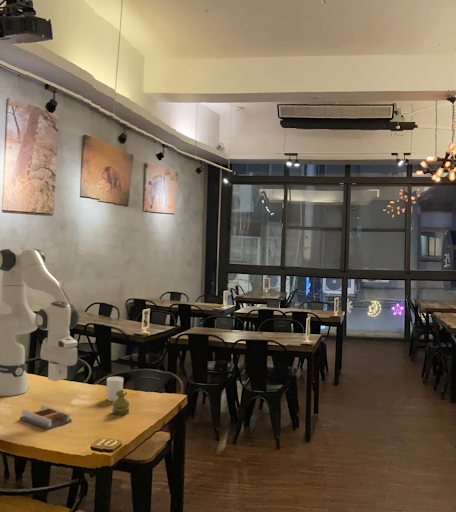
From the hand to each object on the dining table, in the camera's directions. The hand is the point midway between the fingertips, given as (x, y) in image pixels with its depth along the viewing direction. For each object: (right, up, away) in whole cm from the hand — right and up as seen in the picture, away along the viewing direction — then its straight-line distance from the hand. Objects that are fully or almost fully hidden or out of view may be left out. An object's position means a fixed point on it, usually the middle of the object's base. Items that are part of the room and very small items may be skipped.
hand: (57, 372), depth 206 cm
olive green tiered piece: (+25, -20, +9) cm, 33 cm away
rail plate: (-4, -19, -4) cm, 20 cm away
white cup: (+18, -20, +28) cm, 38 cm away
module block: (0, -3, 0) cm, 3 cm away
